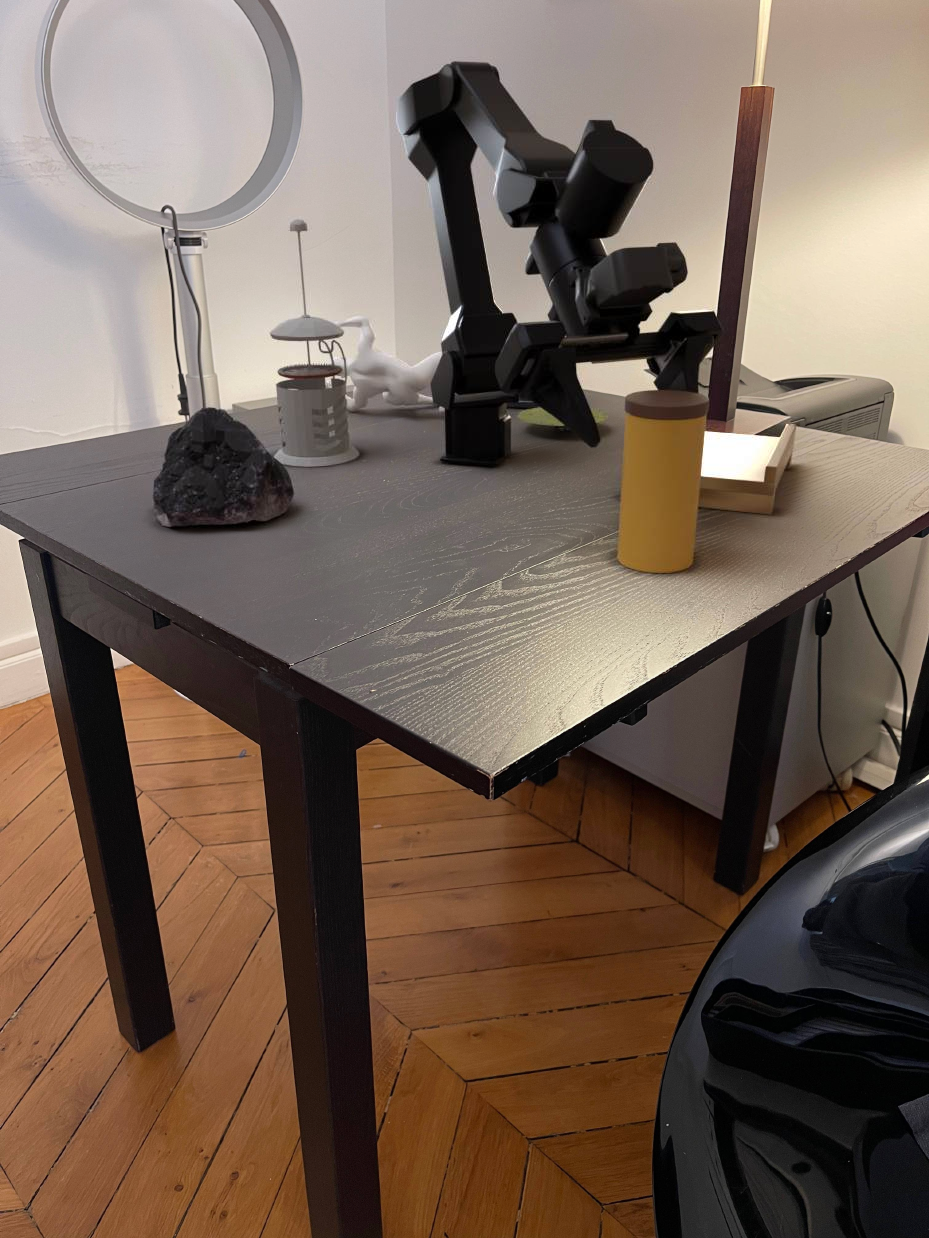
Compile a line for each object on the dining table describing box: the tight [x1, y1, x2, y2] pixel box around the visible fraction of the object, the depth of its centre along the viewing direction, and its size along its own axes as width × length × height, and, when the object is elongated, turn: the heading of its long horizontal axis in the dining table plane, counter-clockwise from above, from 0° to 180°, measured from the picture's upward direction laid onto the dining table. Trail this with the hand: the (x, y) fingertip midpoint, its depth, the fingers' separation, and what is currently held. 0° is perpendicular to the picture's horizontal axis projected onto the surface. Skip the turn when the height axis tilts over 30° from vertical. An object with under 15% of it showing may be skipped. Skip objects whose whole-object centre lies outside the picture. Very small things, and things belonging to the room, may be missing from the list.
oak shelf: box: [698, 423, 797, 515], centre depth 94 cm, size 14×18×4 cm
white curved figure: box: [325, 315, 445, 414], centre depth 124 cm, size 13×13×18 cm
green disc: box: [516, 407, 609, 431], centre depth 116 cm, size 11×11×2 cm
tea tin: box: [616, 389, 710, 574], centre depth 72 cm, size 6×6×13 cm
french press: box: [269, 218, 360, 468], centre depth 102 cm, size 10×12×25 cm
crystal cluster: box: [152, 406, 295, 528], centre depth 87 cm, size 13×14×10 cm
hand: (646, 438), depth 73 cm, fingers open, 9 cm apart
